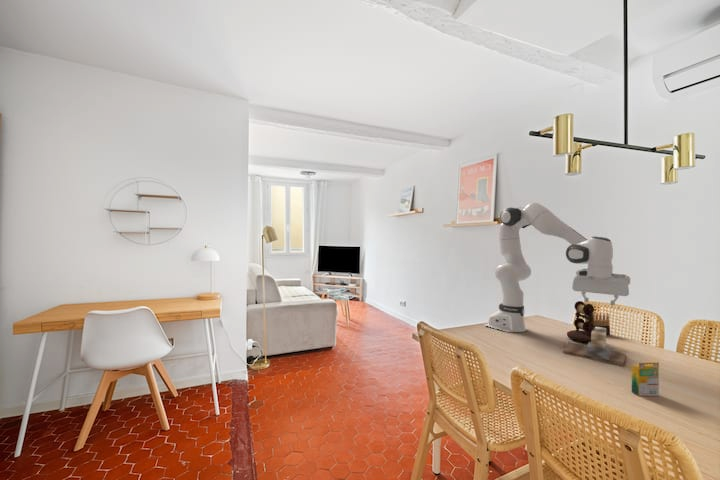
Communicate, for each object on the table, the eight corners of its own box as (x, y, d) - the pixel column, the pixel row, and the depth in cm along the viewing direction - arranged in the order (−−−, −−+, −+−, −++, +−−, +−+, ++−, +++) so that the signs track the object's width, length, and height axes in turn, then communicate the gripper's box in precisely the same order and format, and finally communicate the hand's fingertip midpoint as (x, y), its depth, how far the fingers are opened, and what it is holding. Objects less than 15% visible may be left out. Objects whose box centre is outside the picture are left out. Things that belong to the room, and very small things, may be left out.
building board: (563, 352, 147) (563, 329, 147) (568, 344, 159) (568, 322, 159) (624, 365, 133) (624, 339, 132) (625, 355, 145) (625, 331, 144)
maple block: (590, 346, 141) (591, 333, 141) (592, 343, 145) (592, 330, 145) (605, 349, 138) (605, 335, 138) (605, 346, 142) (606, 332, 142)
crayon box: (650, 391, 111) (651, 359, 110) (659, 396, 108) (659, 362, 107) (630, 392, 110) (631, 359, 110) (638, 396, 107) (639, 362, 107)
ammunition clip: (588, 333, 176) (588, 312, 176) (586, 332, 178) (587, 311, 178) (610, 335, 174) (610, 313, 173) (608, 334, 175) (608, 313, 175)
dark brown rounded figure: (608, 345, 158) (609, 305, 158) (578, 344, 158) (579, 305, 158) (587, 335, 173) (588, 299, 172) (560, 335, 173) (561, 299, 173)
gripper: (630, 274, 136) (629, 305, 137) (574, 270, 150) (573, 299, 150) (630, 275, 132) (629, 308, 132) (572, 271, 145) (571, 301, 145)
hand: (599, 303), depth 141 cm, fingers open, 8 cm apart
